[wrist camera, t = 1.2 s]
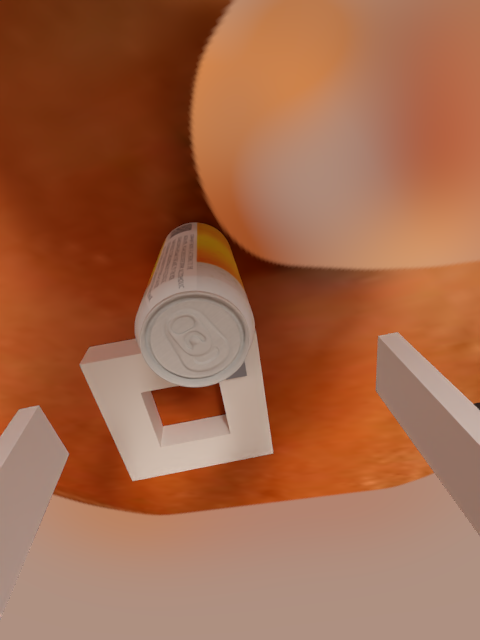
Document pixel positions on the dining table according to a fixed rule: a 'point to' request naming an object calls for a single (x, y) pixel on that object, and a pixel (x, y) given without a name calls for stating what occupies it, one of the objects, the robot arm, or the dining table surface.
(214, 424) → the socket plate
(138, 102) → the dining table surface
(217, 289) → the beer can
